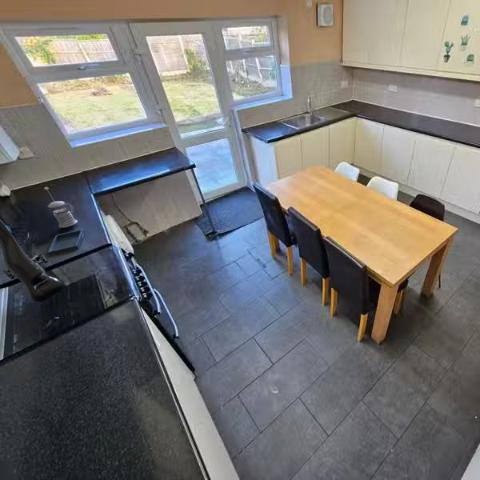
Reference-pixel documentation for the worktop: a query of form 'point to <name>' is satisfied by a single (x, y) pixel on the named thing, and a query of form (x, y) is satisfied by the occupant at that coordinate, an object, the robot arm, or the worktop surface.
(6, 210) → the worktop surface
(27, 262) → the robot arm
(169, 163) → the worktop surface
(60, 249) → the tray
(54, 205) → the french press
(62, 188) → the worktop surface
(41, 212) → the worktop surface
